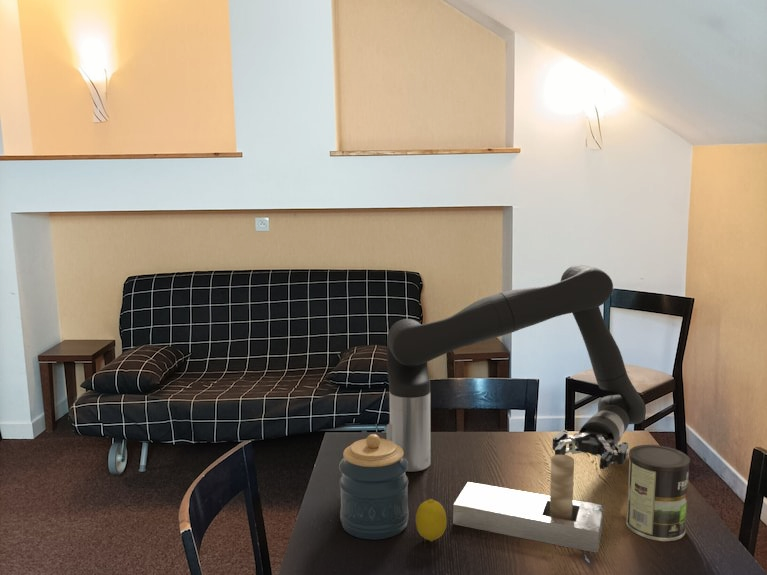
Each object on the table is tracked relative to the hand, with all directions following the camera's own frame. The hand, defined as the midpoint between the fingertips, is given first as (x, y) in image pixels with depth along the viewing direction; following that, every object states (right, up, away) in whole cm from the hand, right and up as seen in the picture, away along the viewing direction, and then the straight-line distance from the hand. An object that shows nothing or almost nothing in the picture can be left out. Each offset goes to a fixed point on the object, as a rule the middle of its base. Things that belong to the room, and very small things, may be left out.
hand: (579, 459), depth 127 cm
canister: (-40, -11, -3) cm, 42 cm away
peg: (-6, -11, -7) cm, 14 cm away
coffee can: (+12, -11, -6) cm, 18 cm away
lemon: (-30, -12, -10) cm, 34 cm away
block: (-11, -11, -5) cm, 16 cm away
